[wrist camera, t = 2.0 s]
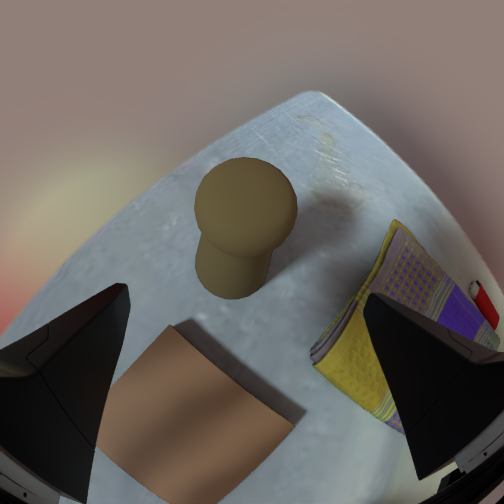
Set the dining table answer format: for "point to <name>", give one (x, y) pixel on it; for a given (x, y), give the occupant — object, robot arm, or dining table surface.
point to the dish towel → (407, 293)
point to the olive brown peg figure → (241, 224)
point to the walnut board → (186, 424)
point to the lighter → (484, 303)
